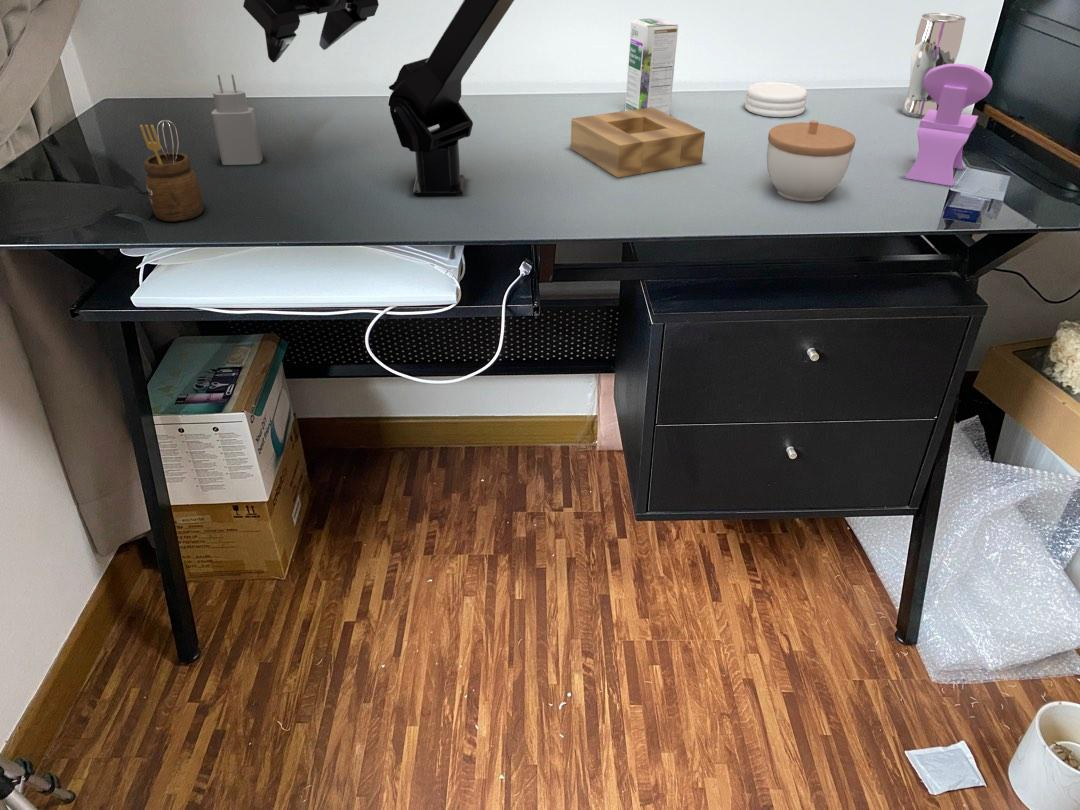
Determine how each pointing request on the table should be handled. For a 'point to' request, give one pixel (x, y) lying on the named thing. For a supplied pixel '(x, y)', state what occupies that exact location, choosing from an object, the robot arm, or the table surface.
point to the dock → (636, 141)
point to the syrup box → (651, 64)
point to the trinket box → (808, 159)
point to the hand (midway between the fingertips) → (297, 53)
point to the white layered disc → (775, 99)
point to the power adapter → (235, 128)
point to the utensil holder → (171, 182)
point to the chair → (947, 121)
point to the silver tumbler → (931, 57)
